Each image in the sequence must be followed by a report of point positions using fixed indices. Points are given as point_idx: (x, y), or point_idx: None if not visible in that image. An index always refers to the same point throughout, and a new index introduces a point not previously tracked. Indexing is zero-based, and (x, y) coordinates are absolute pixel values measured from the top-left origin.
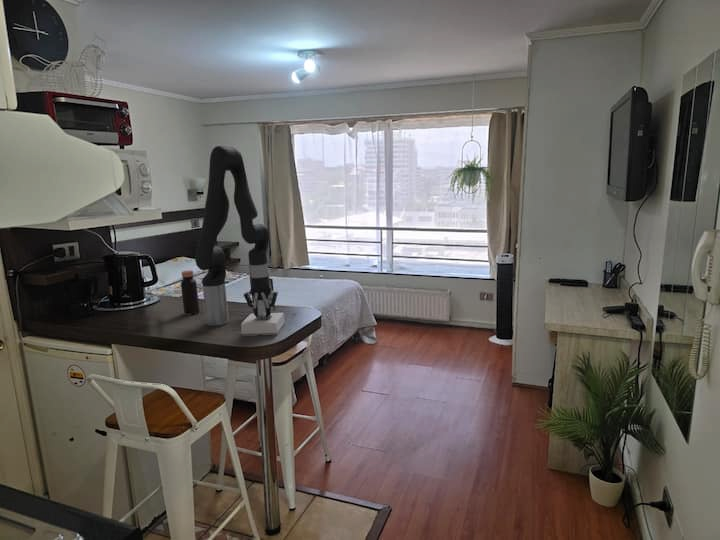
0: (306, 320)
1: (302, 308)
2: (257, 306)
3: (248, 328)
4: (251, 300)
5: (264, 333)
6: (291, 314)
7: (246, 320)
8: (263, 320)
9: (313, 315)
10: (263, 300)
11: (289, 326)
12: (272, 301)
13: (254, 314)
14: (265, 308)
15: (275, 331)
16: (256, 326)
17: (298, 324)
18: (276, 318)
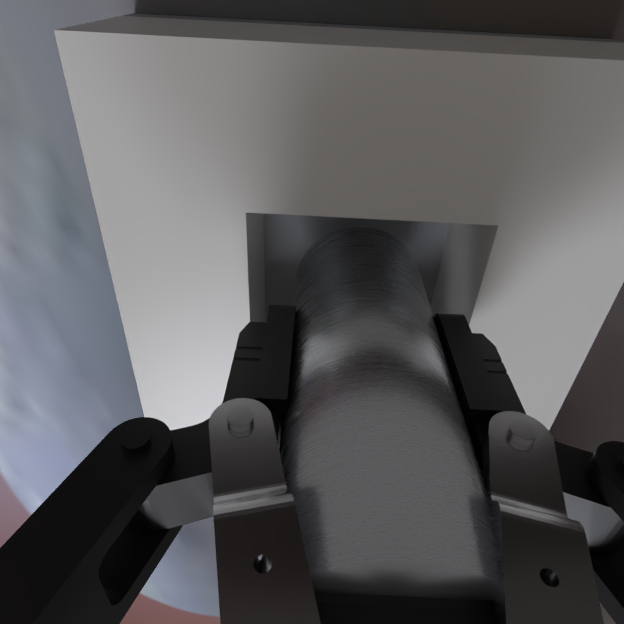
0: (30, 423)
1: (171, 597)
2: (463, 437)
3: (558, 48)
4: (619, 616)
5: (305, 26)
6: (207, 531)
7: (601, 252)
8: (343, 255)
9: (32, 501)
10: (315, 559)
11: (115, 309)
12: (90, 520)
13: (492, 347)
14: (297, 399)
15: (137, 19)
16: (428, 41)
17: (51, 348)
18: (159, 283)
